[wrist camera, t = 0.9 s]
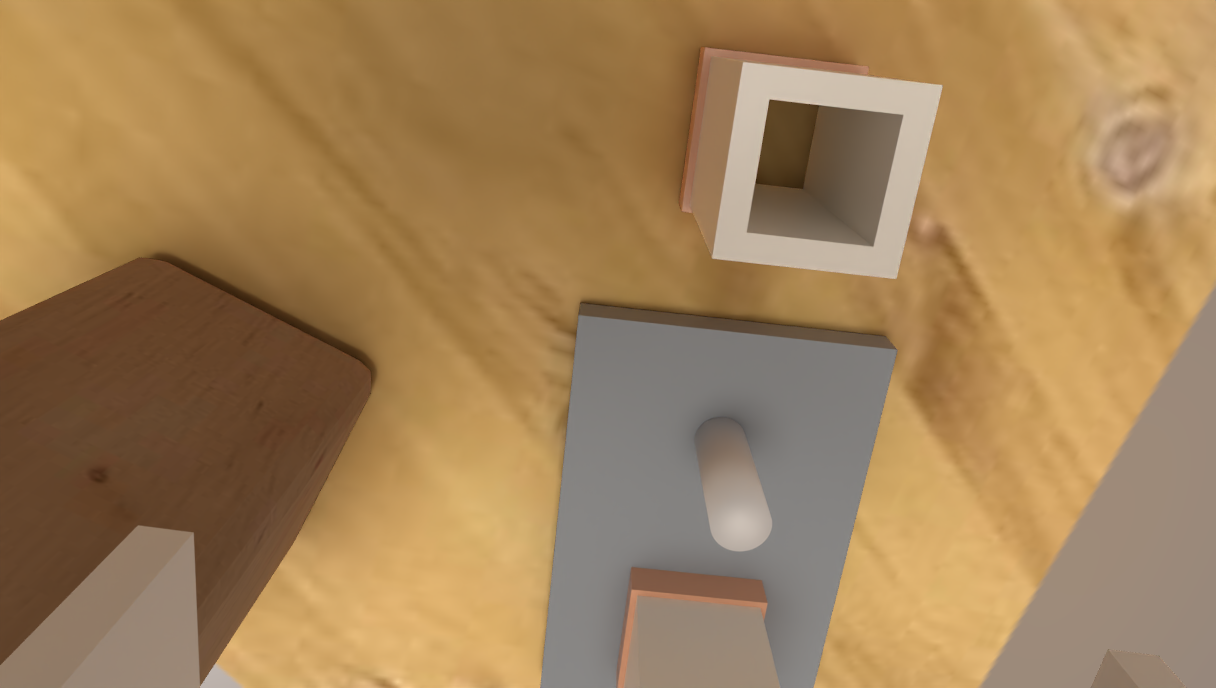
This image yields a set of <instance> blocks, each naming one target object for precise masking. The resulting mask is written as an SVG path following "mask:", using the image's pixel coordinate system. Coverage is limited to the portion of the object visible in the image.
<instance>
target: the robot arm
mask: <svg viewBox="0 0 1216 688" xmlns="http://www.w3.org/2000/svg"><path fill="white" fill-rule="evenodd" d="M0 688H200V674H199V650H198V625H197V601H196V576H195V552H194V532H186V531H178V530H170V529H162V528H155V527H147V526H139V525H138V526H137V527H136V528H135V529H134V530H133V531H132V532H131V533H130V534H129V535H128V536H127V537H126V538H125V539H124V540H123V541H122V542H121V543H120V544H119V545H118V546H117V547H116V548H115V549H114V550H113V551H112V552H111V553H110V554H109V555H108V556H107V557H106V558H105V559H104V560H103V561H102V562H101V563H100V564H99V565H98V566H97V568H96V569H95V570H94V571H93V572H92V573H91V574H90V575H89V576H88V577H87V578H86V579H85V580H84V581H83V582H82V583H81V584H80V585H79V586H78V587H77V588H76V589H75V590H74V591H73V592H72V593H71V594H70V595H69V596H68V597H67V598H66V599H65V600H64V601H63V602H62V603H61V604H60V605H59V606H58V607H57V608H56V609H55V610H54V611H53V612H52V613H51V614H50V615H49V616H48V617H47V618H46V619H45V620H44V621H43V622H42V623H41V624H40V625H39V626H38V627H37V629H36V630H35V631H34V632H33V633H32V634H31V635H30V636H29V637H28V638H27V639H26V640H25V641H24V642H23V643H22V644H21V645H20V646H19V647H18V648H17V649H16V650H15V651H14V652H13V653H12V654H11V655H10V656H9V657H8V658H7V659H6V660H5V661H4V662H3V663H2V664H1V665H0ZM1091 688H1186V686H1185V685H1184V684H1183V683H1182V682H1181V681H1180V679H1179V678H1178V677H1177V676H1176V675H1175V674H1174V673H1173V671H1172V670H1171V669H1170V668H1169V667H1168V666H1167V665H1166V663H1164V661H1163V660H1162V659H1161V658H1160V656H1157V655H1149V654H1141V653H1133V652H1125V651H1117V650H1110V649H1108V650H1107V653H1106V655H1105V657H1104V659H1103V662H1102V664H1101V666H1100V668H1099V671H1098V673H1097V675H1096V677H1095V680H1094V682H1093V684H1092V686H1091Z"/></svg>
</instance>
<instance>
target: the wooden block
mask: <svg viewBox="0 0 1216 688" xmlns="http://www.w3.org/2000/svg"><path fill="white" fill-rule="evenodd" d="M370 394H371V371H370V370H369V369H368V368H367V367H366V366H365V365H364V364H363V363H362V362H361V361H360V360H358V359H356V358H354V357H352V356H350V355H348V354H346V353H344V352H342V351H340V350H338V349H336V348H334V347H332V346H330V345H328V344H326V343H324V342H322V341H321V340H319V339H317V338H315V337H313V336H311V335H309V334H307V333H305V332H303V331H301V330H299V329H297V328H295V327H293V326H291V325H289V324H287V323H285V322H283V321H281V320H279V319H278V318H276V317H274V316H272V315H270V314H268V313H266V312H264V311H262V310H260V309H258V308H256V307H254V306H252V305H250V304H248V303H246V302H244V301H242V300H240V299H238V298H236V297H235V296H233V295H231V294H229V293H227V292H225V291H223V290H221V289H219V288H217V287H215V286H213V285H211V284H209V283H207V282H205V281H203V280H201V279H199V278H197V277H195V276H194V275H192V274H190V273H188V272H186V271H184V270H182V269H180V268H178V267H176V266H174V265H172V264H170V263H168V262H165V261H161V260H155V259H150V258H137V259H135V260H133V261H131V262H128V263H126V264H124V265H122V266H120V267H117V268H115V269H113V270H111V271H109V272H106V273H104V274H102V275H100V276H98V277H95V278H93V279H91V280H89V281H87V282H84V283H82V284H80V285H78V286H76V287H73V288H71V289H69V290H67V291H65V292H62V293H60V294H58V295H56V296H54V297H51V298H49V299H47V300H45V301H43V302H40V303H38V304H36V305H34V306H31V307H29V308H27V309H25V310H23V311H20V312H18V313H16V314H14V315H12V316H9V317H7V318H5V319H3V320H1V321H0V665H1V664H2V663H3V662H4V661H5V660H6V659H7V658H8V657H9V656H10V655H11V654H12V653H13V652H14V651H15V650H16V649H17V648H18V647H19V646H20V645H21V644H22V643H23V642H24V641H25V640H26V639H27V638H28V637H29V636H30V635H31V634H32V633H33V632H34V631H35V630H36V629H37V627H38V626H39V625H40V624H41V623H42V622H43V621H44V620H45V619H46V618H47V617H48V616H49V615H50V614H51V613H52V612H53V611H54V610H55V609H56V608H57V607H58V606H59V605H60V604H61V603H62V602H63V601H64V600H65V599H66V598H67V597H68V596H69V595H70V594H71V593H72V592H73V591H74V590H75V589H76V588H77V587H78V586H79V585H80V584H81V583H82V582H83V581H84V580H85V579H86V578H87V577H88V576H89V575H90V574H91V573H92V572H93V571H94V570H95V569H96V568H97V566H98V565H99V564H100V563H101V562H102V561H103V560H104V559H105V558H106V557H107V556H108V555H109V554H110V553H111V552H112V551H113V550H114V549H115V548H116V547H117V546H118V545H119V544H120V543H121V542H122V541H123V540H124V539H125V538H126V537H127V536H128V535H129V534H130V533H131V532H132V531H133V530H134V529H135V528H136V527H137V526H138V525H139V526H147V527H155V528H162V529H170V530H178V531H186V532H194V552H195V576H196V601H197V625H198V650H199V674H200V686H201V684H202V683H203V681H204V680H205V678H206V677H207V675H208V673H209V672H210V670H211V669H212V667H213V666H214V664H215V663H216V661H217V660H218V658H219V657H220V655H221V654H222V652H223V650H224V649H225V647H226V646H227V644H228V643H229V641H230V640H231V638H232V637H233V635H234V634H235V632H236V630H237V629H238V627H239V626H240V624H241V623H242V621H243V620H244V618H245V617H246V615H247V614H248V612H249V610H250V609H251V607H252V606H253V604H254V603H255V601H256V600H257V598H258V597H259V595H260V594H261V592H262V590H263V589H264V587H265V586H266V584H267V583H268V581H269V580H270V578H271V577H272V575H273V574H274V572H275V570H276V569H277V567H278V566H279V564H280V563H281V561H282V560H283V558H284V557H285V555H286V554H287V552H288V550H289V549H290V547H291V546H292V544H293V543H294V541H295V539H296V537H297V535H298V533H299V531H300V529H301V527H302V525H303V523H304V521H305V519H306V517H307V515H308V514H309V512H310V510H311V508H312V506H313V504H314V502H315V500H316V498H317V496H318V494H319V492H320V490H321V488H322V486H323V485H324V483H325V481H326V479H327V477H328V475H329V473H330V471H331V469H332V467H333V465H334V463H335V461H336V459H337V457H338V456H339V454H340V452H341V450H342V448H343V446H344V444H345V442H346V440H347V438H348V436H349V434H350V432H351V430H352V428H353V427H354V425H355V423H356V421H357V419H358V417H359V415H360V413H361V411H362V409H363V407H364V405H365V403H366V401H367V399H368V398H369V396H370Z"/></svg>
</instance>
